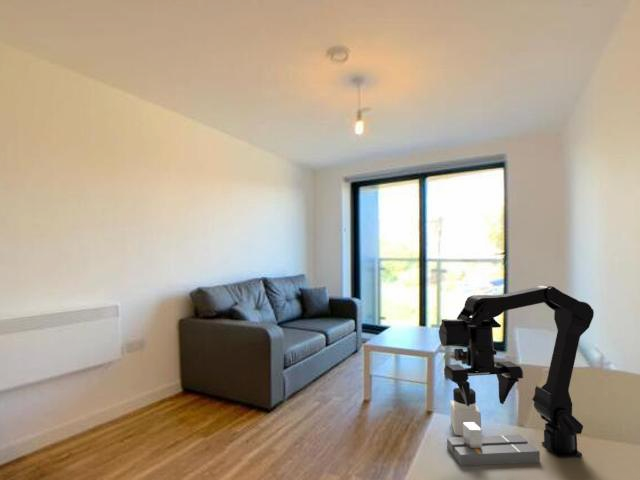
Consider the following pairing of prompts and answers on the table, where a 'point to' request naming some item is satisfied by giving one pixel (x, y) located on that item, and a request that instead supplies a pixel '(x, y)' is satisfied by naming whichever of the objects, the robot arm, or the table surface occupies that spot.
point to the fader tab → (472, 435)
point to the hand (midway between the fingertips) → (484, 404)
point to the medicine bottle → (463, 411)
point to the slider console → (494, 450)
